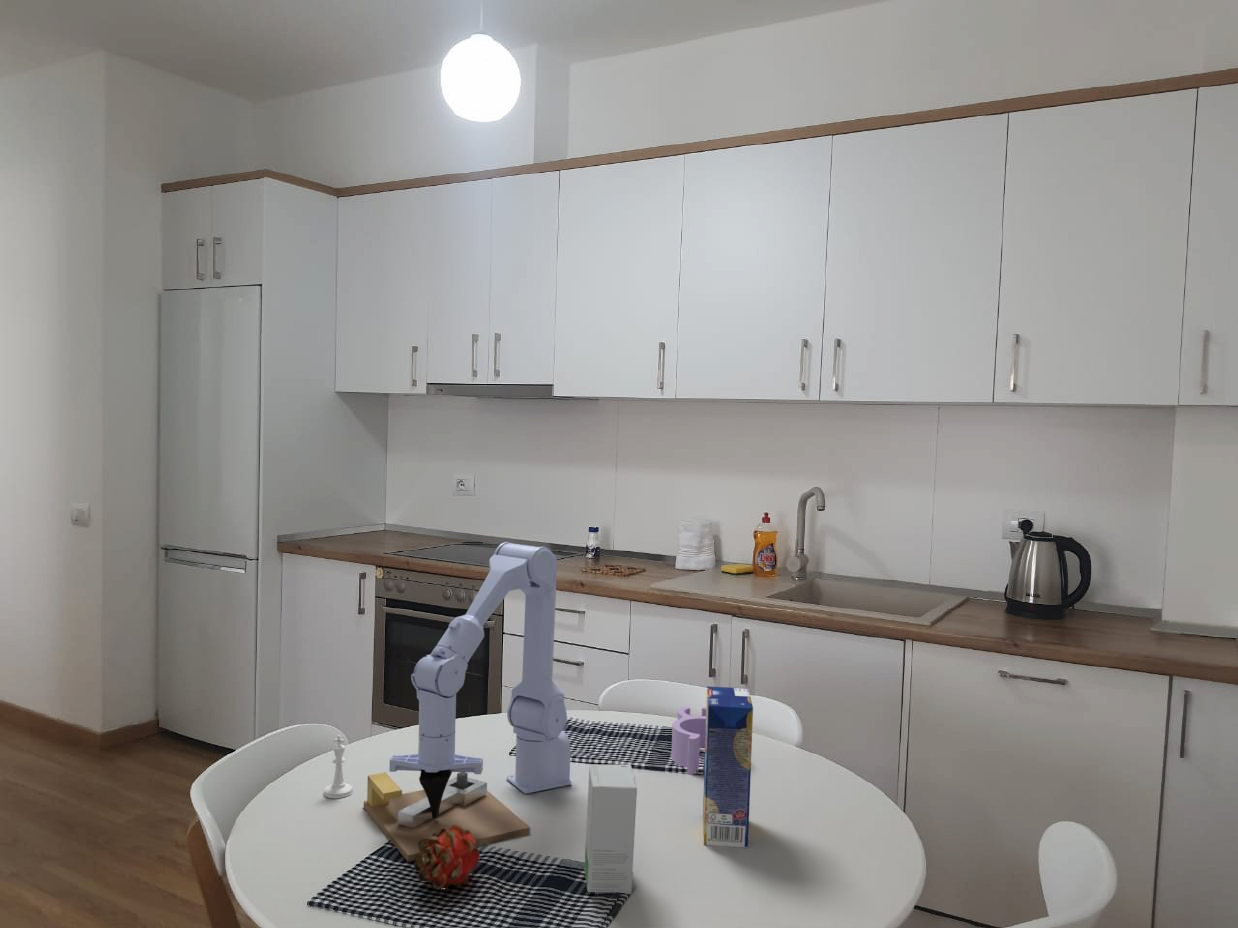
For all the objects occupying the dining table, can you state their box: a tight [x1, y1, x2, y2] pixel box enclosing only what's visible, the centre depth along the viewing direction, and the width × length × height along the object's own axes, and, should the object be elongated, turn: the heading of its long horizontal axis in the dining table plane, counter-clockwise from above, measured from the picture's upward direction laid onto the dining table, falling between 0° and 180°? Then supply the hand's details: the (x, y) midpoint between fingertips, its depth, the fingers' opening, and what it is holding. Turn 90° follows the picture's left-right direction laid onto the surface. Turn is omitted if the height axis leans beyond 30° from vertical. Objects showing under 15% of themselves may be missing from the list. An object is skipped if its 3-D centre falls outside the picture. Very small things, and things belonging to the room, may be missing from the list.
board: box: [363, 772, 531, 863], centre depth 150 cm, size 20×22×5 cm
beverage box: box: [702, 685, 754, 849], centre depth 149 cm, size 7×11×22 cm, turn 176°
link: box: [398, 776, 488, 828], centre depth 152 cm, size 17×6×2 cm, turn 151°
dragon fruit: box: [413, 825, 480, 890], centre depth 130 cm, size 8×8×12 cm
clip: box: [670, 706, 707, 775], centre depth 183 cm, size 20×12×7 cm, turn 3°
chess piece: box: [323, 734, 354, 799], centre depth 160 cm, size 5×5×10 cm
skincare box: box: [584, 764, 638, 895], centre depth 131 cm, size 8×7×16 cm
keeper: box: [366, 772, 403, 807], centre depth 151 cm, size 3×8×4 cm, turn 32°
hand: (435, 815), depth 147 cm, fingers closed
